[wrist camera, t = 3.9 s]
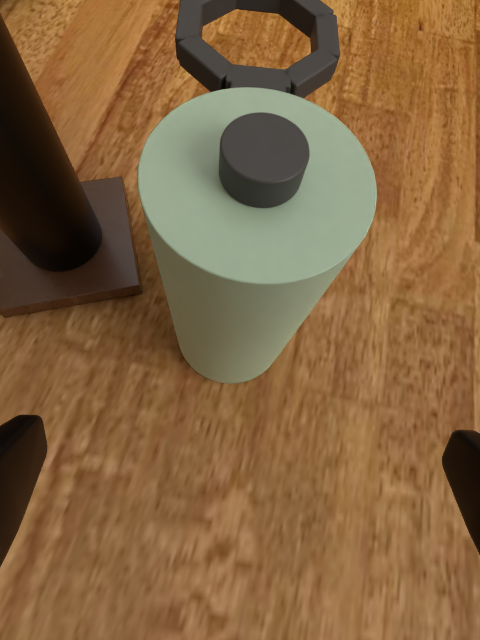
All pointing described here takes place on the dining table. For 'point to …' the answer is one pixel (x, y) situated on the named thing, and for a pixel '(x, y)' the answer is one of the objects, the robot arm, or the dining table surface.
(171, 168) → the mint green lidded canister
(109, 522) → the dining table surface
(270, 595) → the dining table surface
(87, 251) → the black cylinder with base
